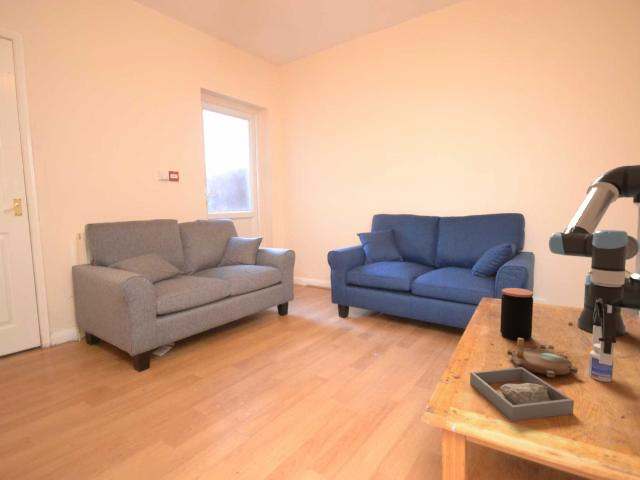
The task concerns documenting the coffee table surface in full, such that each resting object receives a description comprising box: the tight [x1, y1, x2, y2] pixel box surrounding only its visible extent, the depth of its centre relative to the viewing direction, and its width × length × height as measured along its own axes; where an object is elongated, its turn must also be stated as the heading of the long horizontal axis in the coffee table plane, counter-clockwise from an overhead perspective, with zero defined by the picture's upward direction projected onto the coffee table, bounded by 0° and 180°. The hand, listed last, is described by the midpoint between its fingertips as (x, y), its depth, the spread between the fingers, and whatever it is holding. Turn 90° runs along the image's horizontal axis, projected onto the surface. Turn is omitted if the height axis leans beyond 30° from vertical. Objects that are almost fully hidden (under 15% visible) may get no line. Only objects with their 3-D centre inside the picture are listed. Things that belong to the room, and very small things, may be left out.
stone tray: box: [469, 367, 575, 422], centre depth 92 cm, size 17×18×4 cm
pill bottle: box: [588, 344, 614, 383], centre depth 101 cm, size 5×5×10 cm
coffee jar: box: [499, 287, 534, 342], centre depth 133 cm, size 11×11×18 cm
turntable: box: [507, 338, 579, 378], centre depth 108 cm, size 19×17×7 cm
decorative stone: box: [499, 382, 551, 405], centre depth 90 cm, size 12×11×5 cm
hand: (601, 355), depth 101 cm, fingers open, 13 cm apart
